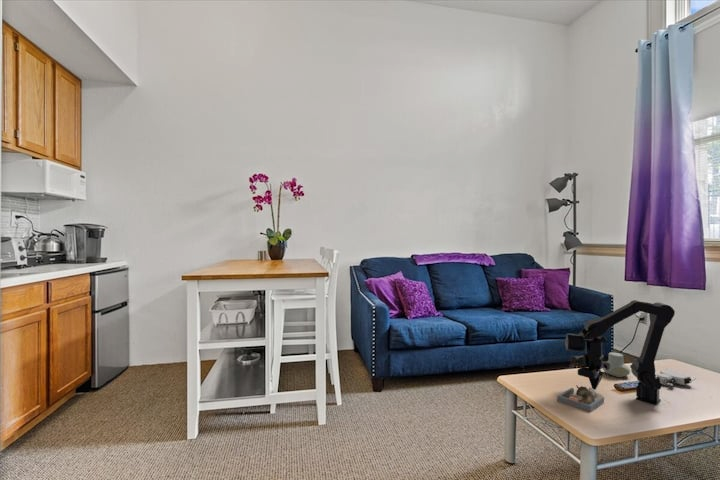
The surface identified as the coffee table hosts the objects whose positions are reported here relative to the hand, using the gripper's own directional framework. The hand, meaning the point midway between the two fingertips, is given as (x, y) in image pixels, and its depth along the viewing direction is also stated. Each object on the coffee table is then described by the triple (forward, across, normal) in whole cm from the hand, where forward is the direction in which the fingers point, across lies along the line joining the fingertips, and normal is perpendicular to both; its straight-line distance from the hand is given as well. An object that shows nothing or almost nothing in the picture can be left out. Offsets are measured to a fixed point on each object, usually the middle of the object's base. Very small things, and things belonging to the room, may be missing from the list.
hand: (594, 389), depth 152 cm
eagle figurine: (+2, +12, +1) cm, 12 cm away
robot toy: (+3, -40, +17) cm, 44 cm away
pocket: (+2, +12, 0) cm, 13 cm away
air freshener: (+2, -32, -2) cm, 33 cm away
